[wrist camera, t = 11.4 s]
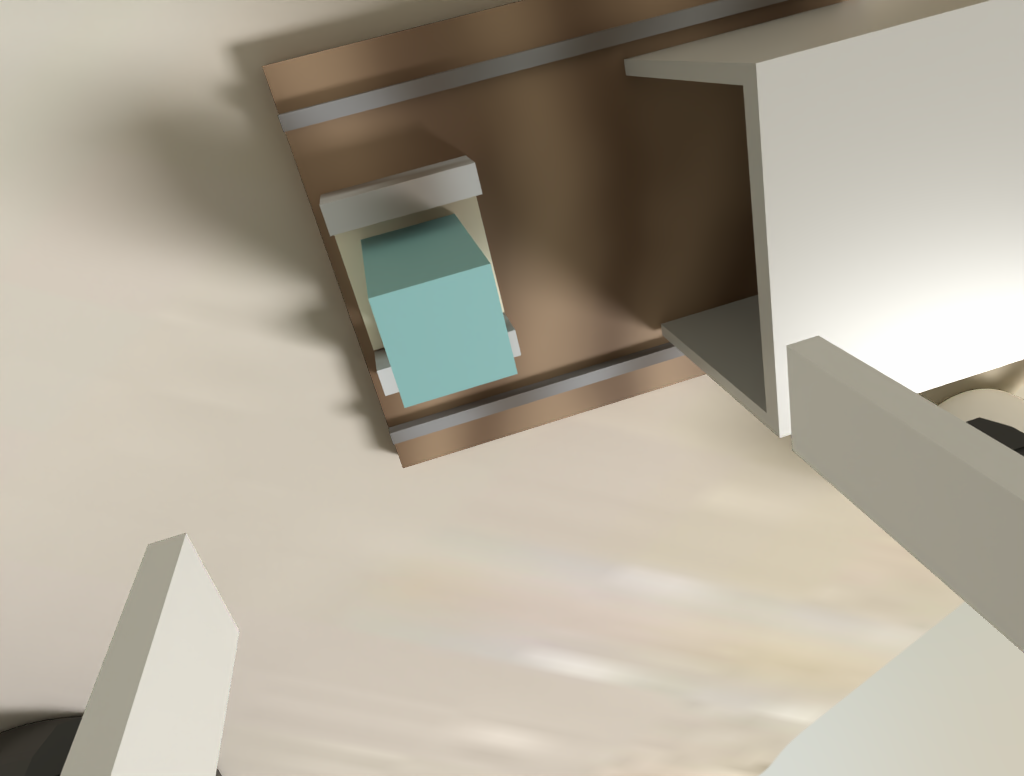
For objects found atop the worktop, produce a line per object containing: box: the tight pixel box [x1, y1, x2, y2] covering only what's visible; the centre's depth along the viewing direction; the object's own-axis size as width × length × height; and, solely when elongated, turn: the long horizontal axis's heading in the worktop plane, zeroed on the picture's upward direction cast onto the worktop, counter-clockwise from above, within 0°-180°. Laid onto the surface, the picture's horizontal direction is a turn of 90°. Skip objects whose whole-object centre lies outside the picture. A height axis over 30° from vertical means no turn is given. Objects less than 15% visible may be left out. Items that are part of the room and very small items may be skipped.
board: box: [262, 0, 847, 468], centre depth 31 cm, size 24×18×3 cm
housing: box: [624, 0, 1024, 438], centre depth 28 cm, size 10×12×10 cm
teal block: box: [361, 214, 518, 408], centre depth 27 cm, size 4×4×8 cm
